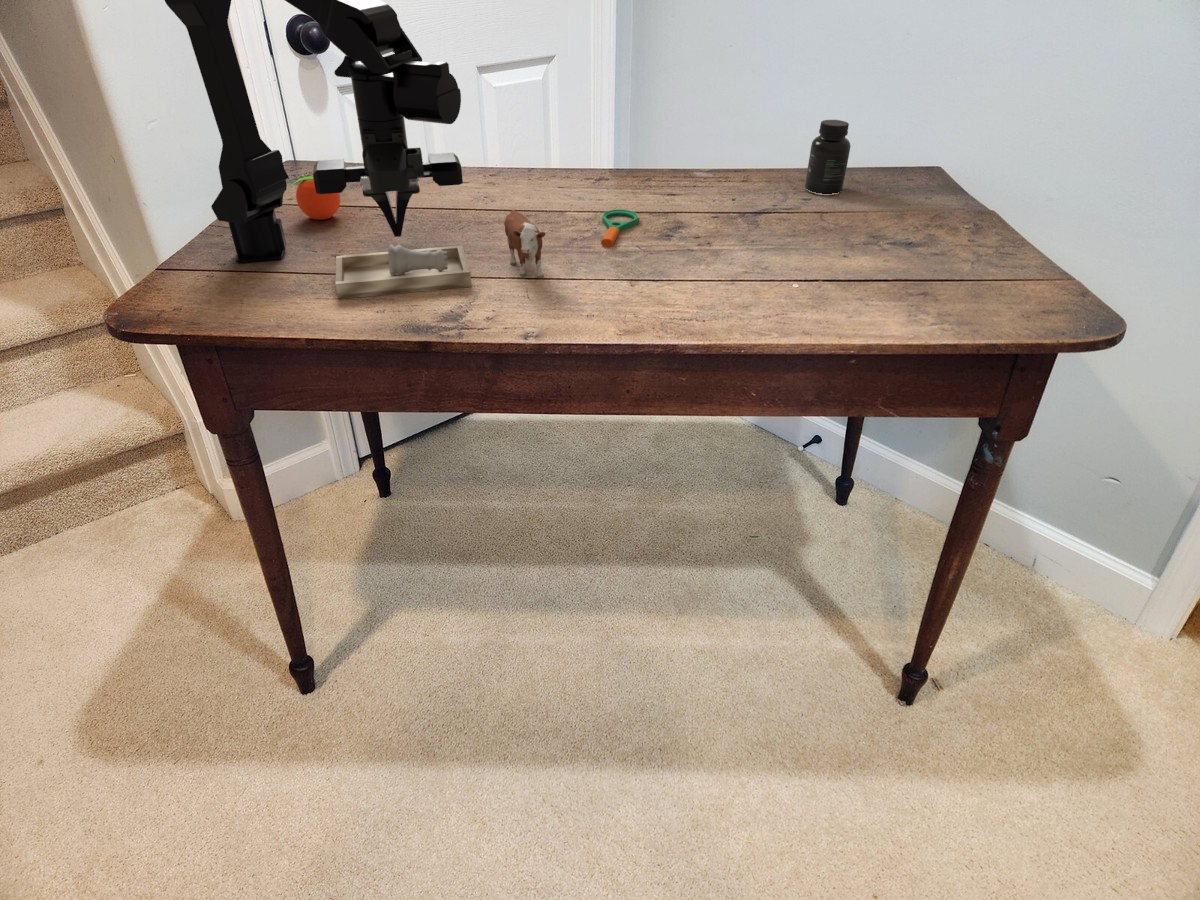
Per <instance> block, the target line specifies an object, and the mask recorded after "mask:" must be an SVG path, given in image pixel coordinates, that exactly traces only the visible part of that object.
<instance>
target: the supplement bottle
mask: <svg viewBox="0 0 1200 900" xmlns="http://www.w3.org/2000/svg"><path fill="white" fill-rule="evenodd" d="M849 126H850V124H849V123H848V122H847V121H843V120H840V119H824V120H822V121H820V126H819V130H818V134H819V135H818V136H817V137H814V139H813V140H812V141H811V146H810V150H809V151H810V152H809V158H808V163H807V170H806V177H805V183H804V184H805V185H804V189H805V188H806V189H808V190H810V191H812V192H816V193H822V194H832V193H838V192H840V191H841V192H842V191H843V188H844V183H845V179H846V178H845V177H846V173H847V167H848V162H849V157H850V151H851V148H852V147H851V146H852V145H851V143H850V140H849V139H848V138H847V136H848V133H849V132H848V131H849ZM806 189H805V190H806Z"/></svg>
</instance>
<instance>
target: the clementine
mask: <svg viewBox="0 0 1200 900" xmlns="http://www.w3.org/2000/svg"><path fill="white" fill-rule="evenodd" d="M298 182H300V183H299V184H298V185H297V187H296V192H295V199H296V202H297V206H298V207H299V209H300V210H301V212H302V213H303V214H304V215H306V216H307V217H309V218H311V219H313V220H320V221H321V220H323V221H324V220H326V219H329V218H332V217H333V216H334V215H335V214H336V213H337V212H338V211H339V208H340V204H341V195H340V194H341V193H330V194H318V193H316V189H315V184H314V179H313V175H310V176H303V177H301V178H298V179H296V180H295V181H294V182H293V183H292V184H291V185H290V187H289V190H288V191H291V188H292V187H293V185H295V184H296V183H298ZM289 193H290V192H288V194H287V195H289Z"/></svg>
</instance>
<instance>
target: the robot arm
mask: <svg viewBox="0 0 1200 900" xmlns="http://www.w3.org/2000/svg"><path fill="white" fill-rule="evenodd" d="M284 1H285V2H287V3H288V4H289V5H291V6H293V7H294V8H296V9H297V10H299V11H300V12H302V14H303V13H304V14H305V15H306V16H308V17H309V18H311V19H312V20H313V21H314V22H316V24H317V25H318V26H319V28H320V29H321V31H322V32H323V34H324V36H325V37H326V39H327V40H328V41H329V42H331V43H332V44H333V45H334V46H335V47H336V48H337V49H338V50H340V52H342V53H343V54H344V57H343V60H342V62H341V63H340V64H339V65H338V67H336V69H335V70H334V72H333V73H334V76H336V77H339V78H340V77H341V78H349V79H351V86H352V93H353V98H354V103H355V110H356V118H357V122H358V128H359V135H360V141H361V147H362V149H361V150H362V155H361V156H362V161H363V165H358V166H357V165H356V166H346V161H345V158H343V159H342V158H340V159H324V160H323V159H322V160H320V159H319V160H318V159H317V161H316V162H315V164H314V165H313V170H312V171H313V173H312V176H313V179H314V184H315V189H316V193H318V194H330V193H339V194H341V193H343V192H344V191H345V189H346V188H347V185H348V184H347V183H359V182H360V185H361V186H362V196H364V198H365V197H366V198H372V199H373V200H374V202H376V204H377V206H378V207H379V208H380V210H381V212H382V214H383V215H384V217H385V219H386V222H387V224H388V225H389V228H390V229H391V232H392V234H393V236H394V237H395V238H397V237H402V232H403V228H404V222H405V217H406V211H407V208H408V204H409V202H410V201H411V200H410V199H411V198H412V196H413V195H414V194H415V195H416V194H419V193H420V192H421V189H420V184H419V182H420V179H421V178H422V179H424V178H431V179H432V181H433V182H434V183H435V184H436V185H438V186H439V187H447V186H460V185H462V184H464V181H463V171H462V163H461V162H460V159H459V157H458V156H457V155H456V153H454V152H444V153H443V152H440V153H439V152H438V153H428V154H427V156H428V157H427V159H428V161H426V162H425V161H424V162H423V154H422V153H423V152H422V149H421V147H408V139H407V131H406V124H405V119H406V120H407V121H408V120H409V121H417V122H426V123H435V124H444V125H452V124H454V123H455V122H456V121H457V119H458V117H459V115H460V110H461V102H462V93H461V89H460V88H459V86H458V82H457V80H456V78H455V76H454V75H453V74H452V73H451V72H450V65H449V63H448V62H447V61H435V62H428V61H427V62H426V61H423V58H422V56H421V55H420V53H419V51H418V50H417V49H416V47H415V45H414V44H413V43H412V41H411V39H410V38H409V37H408V35H407V34H406V32H405V31H404V29H403V28H402V27H401V24H400V22H399V19H398V14H397V12H396V11H395V10H394V8H392V6H390V4H388V3H386V2H384V1H382V0H284ZM164 2H165V5H166V6H168V8H169V9H170V11H172V12H173V13H174V15H175V16H176V17H177V18H178V20H180V21H181V23H182V24H183V25H184V27H185V28H186V30H187V32H188V33H187V34H188V36H189V39H190V43H191V46H192V49H193V53H194V55H195V58H196V62H197V65H198V68H199V71H200V75H201V78H202V82H203V85H204V87H205V90H206V93H207V97H208V100H209V104H210V106H211V107H210V108H211V110H212V113H213V116H214V120H215V123H216V127H217V129H218V132H219V135H220V139H221V142H222V146H221V147H222V148H221V152H220V157H219V162H218V163H219V164H218V173H219V176H220V177H219V178H220V182H221V187H222V188H221V190H220V192H219V193H218V195H217V196H216V198H215V200H214V201H213V203H212V204H211V209H212V212H213V214H214V215H215V217H216V218H217V221H219V222H226V223H228V226H229V230H230V233H231V237H232V241H233V245H234V248H235V251H236V252H235V253H236V255H235V263H248V262H249V263H250V262H261V261H272V260H273V261H274V260H275V261H276V260H281V259H283V256H284V251H286V249H287V239H286V237H285V231H284V228H283V222H282V219H280V218H277V216H276V211H275V209H277V208H281V207H283V201H284V194H285V192H286V191H287V187H288V185H287V179H289V178H290V176H289V175H288V173H287V171H286V169H285V167H284V161H283V155H282V154H281V151H280V150H279V149H274V150H272V149H271V148H270V147H269V146H268V145H267V144H266V143H265V142H264V140H263V139H262V138H261V136H260V132H259V128H258V125H257V123H256V118H255V115H254V112H253V108H252V105H251V102H250V97H249V95H248V90H247V87H246V84H245V79H244V77H243V73H242V69H241V66H240V63H239V58H238V55H237V53H236V52H237V51H236V49H235V46H234V42H233V38H232V35H231V31H230V28H229V22H228V20H229V15H230V11H231V5H232V0H164ZM390 53H393V54H390ZM387 54H389V55H387ZM383 55H386V56H383ZM389 192H395V214H394V211H393V207H392V204H391V203H392V202H391V199H390V196H389Z"/></svg>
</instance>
